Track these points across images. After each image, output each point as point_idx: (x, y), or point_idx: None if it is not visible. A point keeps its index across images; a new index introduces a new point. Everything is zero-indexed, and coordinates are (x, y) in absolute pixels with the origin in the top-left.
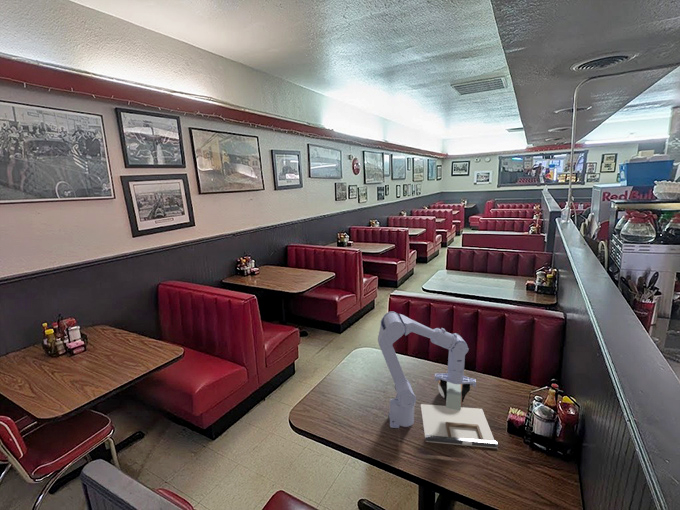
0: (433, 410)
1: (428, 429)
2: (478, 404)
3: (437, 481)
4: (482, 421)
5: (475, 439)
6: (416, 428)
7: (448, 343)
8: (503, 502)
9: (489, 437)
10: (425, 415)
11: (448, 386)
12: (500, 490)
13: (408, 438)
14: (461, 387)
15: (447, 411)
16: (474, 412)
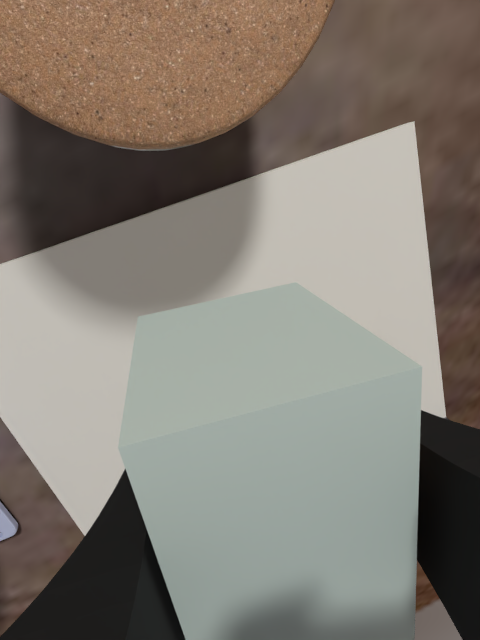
0: (59, 322)
1: (97, 504)
2: (385, 41)
3: None
4: (401, 273)
5: None
6: (21, 510)
7: None
8: (418, 607)
9: (422, 386)
10: (24, 405)
11: (200, 585)
12: (416, 580)
13: (15, 588)
14: (308, 38)
15: (167, 281)
16: (358, 198)
